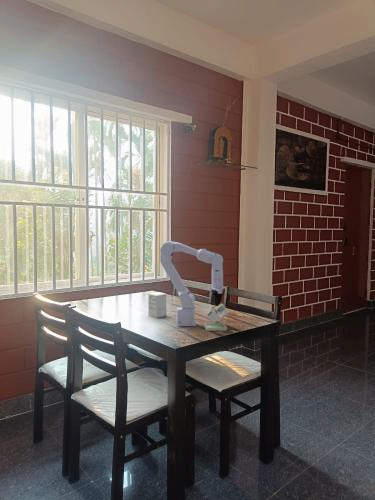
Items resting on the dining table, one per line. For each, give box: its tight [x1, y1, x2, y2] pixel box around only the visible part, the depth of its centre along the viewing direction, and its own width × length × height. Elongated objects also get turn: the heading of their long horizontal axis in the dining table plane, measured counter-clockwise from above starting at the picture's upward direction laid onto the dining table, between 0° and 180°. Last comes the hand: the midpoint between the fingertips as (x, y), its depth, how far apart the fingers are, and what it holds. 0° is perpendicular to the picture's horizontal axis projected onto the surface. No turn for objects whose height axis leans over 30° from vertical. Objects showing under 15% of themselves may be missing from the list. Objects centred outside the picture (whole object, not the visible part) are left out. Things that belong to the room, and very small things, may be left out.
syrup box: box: [206, 302, 229, 323], centre depth 183 cm, size 6×6×14 cm
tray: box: [203, 322, 228, 332], centre depth 182 cm, size 10×9×1 cm
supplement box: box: [147, 291, 167, 319], centre depth 203 cm, size 7×7×13 cm
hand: (217, 305), depth 184 cm, fingers closed
